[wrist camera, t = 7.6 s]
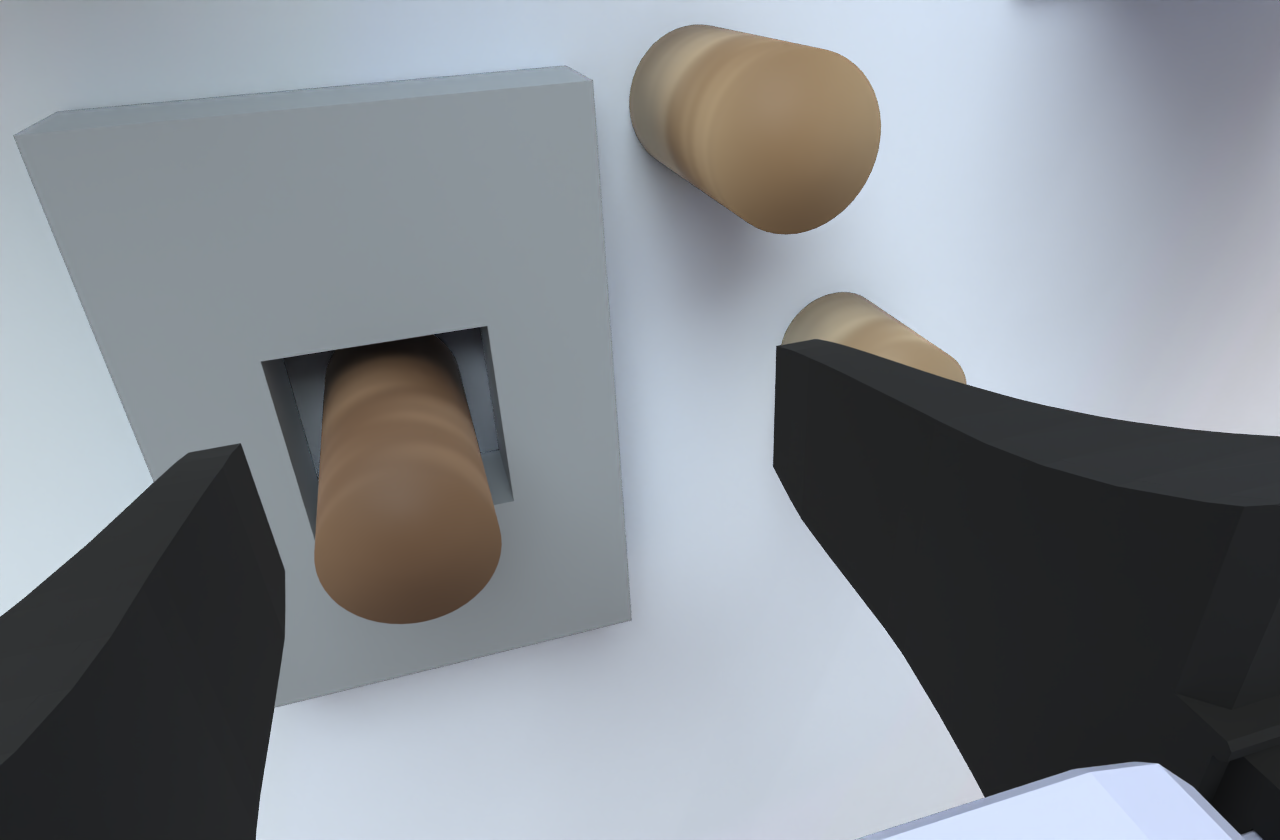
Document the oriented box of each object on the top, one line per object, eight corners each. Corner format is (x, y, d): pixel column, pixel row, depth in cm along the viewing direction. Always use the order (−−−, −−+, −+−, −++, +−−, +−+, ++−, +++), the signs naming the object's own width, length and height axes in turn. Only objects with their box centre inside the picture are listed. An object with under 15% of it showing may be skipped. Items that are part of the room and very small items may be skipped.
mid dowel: (760, 19, 19) (889, 40, 15) (757, 162, 21) (872, 222, 16) (625, 30, 18) (715, 56, 14) (632, 177, 20) (716, 245, 15)
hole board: (565, 65, 18) (593, 80, 16) (608, 565, 25) (631, 620, 23) (57, 112, 16) (13, 135, 14) (257, 645, 23) (247, 714, 21)
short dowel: (887, 284, 24) (975, 339, 20) (876, 385, 25) (956, 452, 22) (782, 301, 23) (855, 361, 20) (777, 404, 24) (845, 476, 21)
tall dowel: (450, 314, 20) (491, 460, 14) (467, 428, 22) (510, 603, 16) (311, 332, 20) (295, 495, 14) (339, 449, 21) (335, 640, 15)
